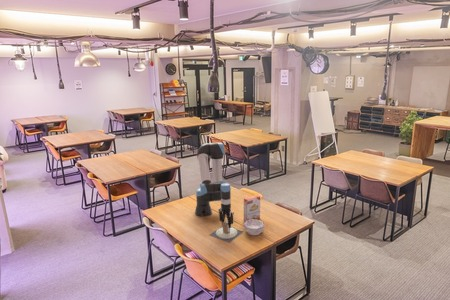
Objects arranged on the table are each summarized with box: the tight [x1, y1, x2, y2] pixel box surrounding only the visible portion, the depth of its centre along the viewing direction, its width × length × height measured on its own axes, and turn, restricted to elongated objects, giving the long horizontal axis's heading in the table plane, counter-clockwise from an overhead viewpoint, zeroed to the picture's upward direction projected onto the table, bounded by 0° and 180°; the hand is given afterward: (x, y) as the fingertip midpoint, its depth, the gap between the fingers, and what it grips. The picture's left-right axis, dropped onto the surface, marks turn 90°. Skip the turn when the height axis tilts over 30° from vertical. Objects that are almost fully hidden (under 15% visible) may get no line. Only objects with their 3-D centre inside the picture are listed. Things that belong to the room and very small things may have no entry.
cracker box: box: [243, 194, 261, 222], centre depth 266 cm, size 14×6×21 cm, turn 122°
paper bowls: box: [244, 219, 265, 236], centre depth 246 cm, size 15×15×8 cm
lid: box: [215, 219, 237, 239], centre depth 245 cm, size 17×17×10 cm
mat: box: [209, 225, 245, 243], centre depth 246 cm, size 20×20×1 cm
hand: (226, 230), depth 245 cm, fingers closed on lid, 4 cm apart
